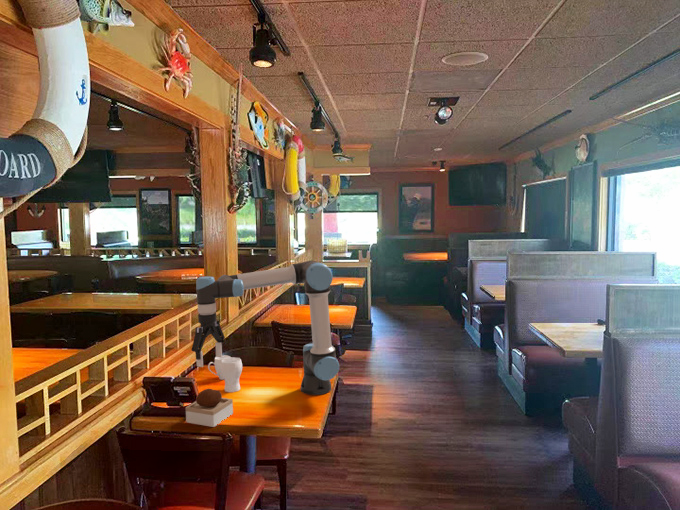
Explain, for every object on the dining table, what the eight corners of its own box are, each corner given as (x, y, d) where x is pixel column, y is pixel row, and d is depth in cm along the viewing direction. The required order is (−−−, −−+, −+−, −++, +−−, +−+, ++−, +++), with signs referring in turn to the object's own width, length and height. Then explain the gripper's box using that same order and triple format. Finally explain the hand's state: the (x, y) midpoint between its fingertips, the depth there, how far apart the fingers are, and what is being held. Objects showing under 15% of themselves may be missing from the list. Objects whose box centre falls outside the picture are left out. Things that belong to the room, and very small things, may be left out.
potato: (224, 406, 214) (223, 390, 213) (199, 412, 209) (198, 394, 208) (219, 400, 221) (218, 383, 220) (194, 405, 216) (193, 388, 215)
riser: (233, 413, 219) (232, 399, 219) (213, 427, 207) (213, 411, 206) (206, 409, 225) (205, 395, 224) (186, 422, 212) (185, 407, 211)
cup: (238, 394, 243) (236, 364, 241) (217, 392, 245) (216, 363, 243) (246, 386, 253) (245, 357, 252) (226, 385, 255) (225, 356, 254)
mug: (228, 374, 271) (227, 354, 270) (233, 379, 264) (232, 358, 263) (206, 379, 265) (205, 358, 264) (211, 383, 258) (210, 362, 257)
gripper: (216, 306, 225) (219, 352, 227) (180, 319, 202) (183, 369, 204) (231, 307, 222) (233, 353, 224) (195, 320, 199) (199, 371, 201)
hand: (209, 361), depth 214 cm, fingers open, 13 cm apart
